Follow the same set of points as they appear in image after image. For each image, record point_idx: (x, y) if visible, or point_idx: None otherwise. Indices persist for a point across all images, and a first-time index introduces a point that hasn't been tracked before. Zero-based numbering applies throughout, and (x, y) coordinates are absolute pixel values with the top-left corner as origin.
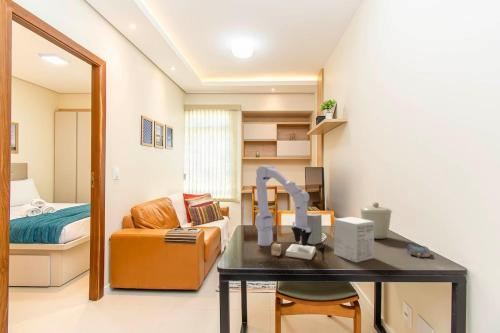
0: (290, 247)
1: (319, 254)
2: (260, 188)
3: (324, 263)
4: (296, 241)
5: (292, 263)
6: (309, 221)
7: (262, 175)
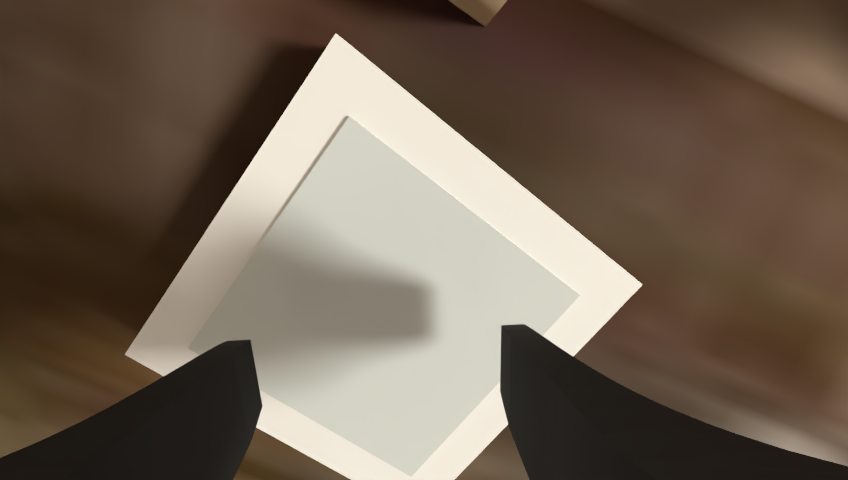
0: (486, 189)
1: (325, 466)
2: None
3: (36, 400)
4: (501, 332)
5: (31, 17)
6: None
7: None
